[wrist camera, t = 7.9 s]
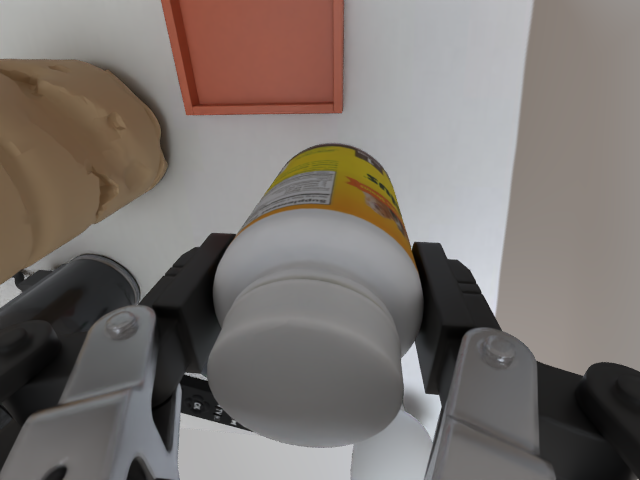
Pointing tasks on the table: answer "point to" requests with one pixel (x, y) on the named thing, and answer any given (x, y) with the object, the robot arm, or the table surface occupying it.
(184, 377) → the remote control
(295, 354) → the supplement bottle
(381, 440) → the figurine
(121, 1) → the table surface
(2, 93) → the container
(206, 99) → the terracotta tray
